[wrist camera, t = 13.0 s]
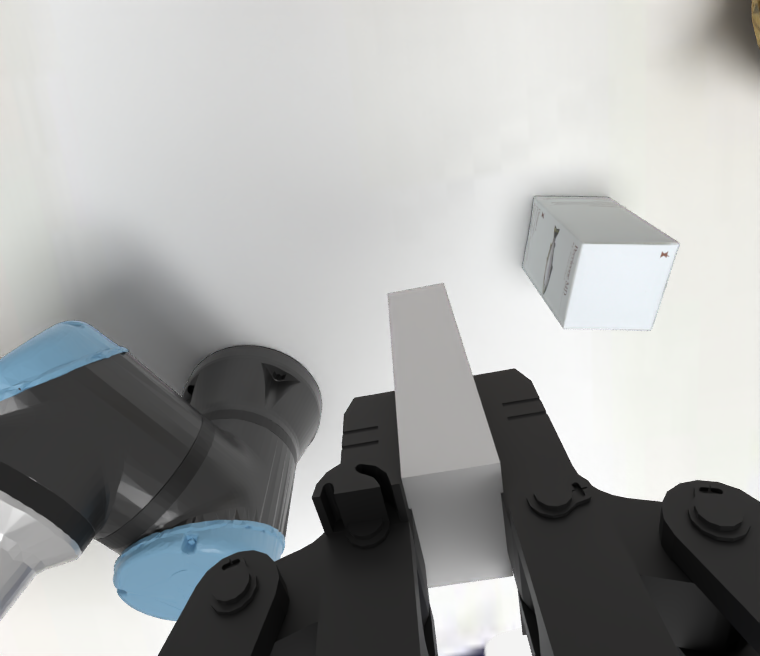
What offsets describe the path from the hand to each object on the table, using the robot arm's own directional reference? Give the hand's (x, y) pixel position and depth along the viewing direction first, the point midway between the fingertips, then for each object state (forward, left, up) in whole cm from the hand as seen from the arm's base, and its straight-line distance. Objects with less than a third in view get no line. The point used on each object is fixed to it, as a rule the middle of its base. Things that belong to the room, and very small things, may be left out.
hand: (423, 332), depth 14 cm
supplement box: (+15, -12, -35) cm, 40 cm away
